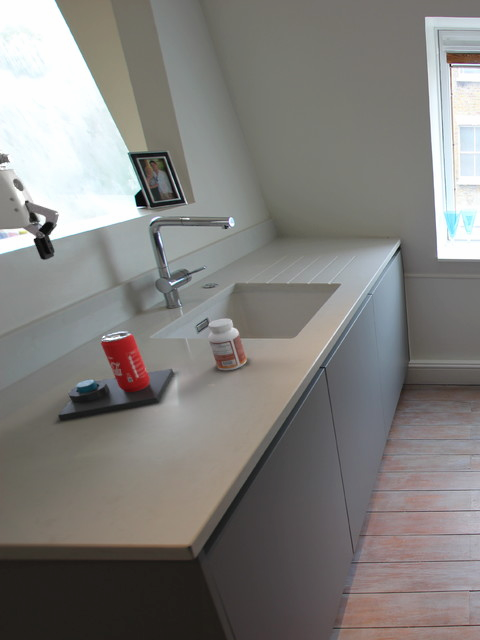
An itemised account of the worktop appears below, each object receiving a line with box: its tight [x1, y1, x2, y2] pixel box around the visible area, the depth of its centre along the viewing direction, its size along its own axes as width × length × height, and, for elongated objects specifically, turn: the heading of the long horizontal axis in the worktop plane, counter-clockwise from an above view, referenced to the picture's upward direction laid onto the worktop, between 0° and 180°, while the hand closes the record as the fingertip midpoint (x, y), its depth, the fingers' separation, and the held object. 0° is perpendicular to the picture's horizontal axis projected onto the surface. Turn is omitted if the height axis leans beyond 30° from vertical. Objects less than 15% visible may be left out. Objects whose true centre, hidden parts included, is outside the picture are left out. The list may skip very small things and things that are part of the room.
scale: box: [58, 368, 175, 422], centre depth 93 cm, size 16×13×3 cm
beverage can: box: [100, 330, 150, 393], centre depth 92 cm, size 5×5×12 cm
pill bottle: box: [207, 318, 247, 371], centre depth 103 cm, size 6×6×11 cm
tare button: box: [75, 379, 98, 393], centre depth 91 cm, size 3×3×2 cm
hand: (15, 260), depth 82 cm, fingers open, 9 cm apart
